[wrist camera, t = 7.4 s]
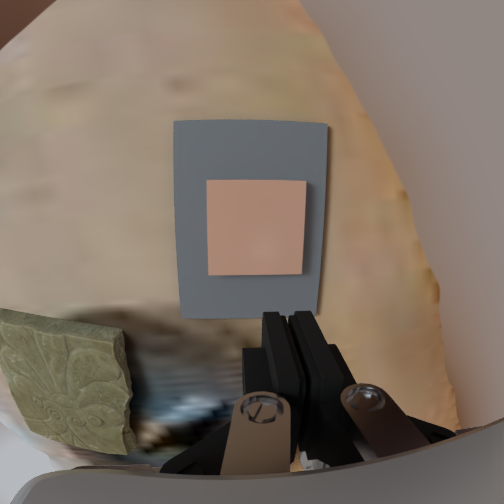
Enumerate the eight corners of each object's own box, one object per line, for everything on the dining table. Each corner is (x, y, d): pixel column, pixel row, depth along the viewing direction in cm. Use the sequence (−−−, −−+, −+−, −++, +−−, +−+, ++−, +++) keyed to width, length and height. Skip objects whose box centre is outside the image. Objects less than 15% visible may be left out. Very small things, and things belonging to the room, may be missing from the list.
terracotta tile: (209, 269, 29) (298, 268, 29) (208, 275, 27) (301, 274, 28) (207, 178, 27) (302, 179, 27) (206, 180, 25) (306, 181, 26)
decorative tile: (35, 419, 36) (27, 435, 32) (-4, 304, 30) (-19, 317, 26) (147, 444, 37) (143, 463, 34) (129, 324, 32) (119, 342, 28)
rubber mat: (313, 312, 32) (315, 315, 31) (182, 314, 31) (181, 318, 30) (324, 124, 27) (327, 123, 26) (175, 121, 26) (173, 121, 25)
